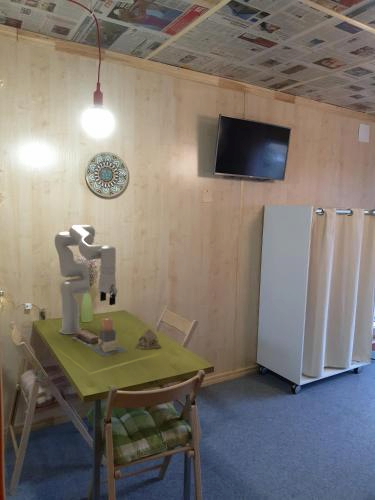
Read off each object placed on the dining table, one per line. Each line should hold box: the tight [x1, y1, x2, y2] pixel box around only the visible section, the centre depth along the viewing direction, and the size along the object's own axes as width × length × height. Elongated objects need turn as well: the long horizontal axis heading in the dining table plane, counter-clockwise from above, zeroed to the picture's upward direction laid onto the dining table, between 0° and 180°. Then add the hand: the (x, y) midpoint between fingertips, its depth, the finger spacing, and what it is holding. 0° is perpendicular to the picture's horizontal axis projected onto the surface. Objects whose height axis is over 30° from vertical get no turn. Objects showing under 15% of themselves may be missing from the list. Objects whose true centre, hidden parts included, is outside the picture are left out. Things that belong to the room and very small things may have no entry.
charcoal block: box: [99, 329, 117, 342], centre depth 198 cm, size 6×6×5 cm
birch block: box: [97, 338, 118, 352], centre depth 199 cm, size 7×7×5 cm
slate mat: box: [88, 344, 127, 357], centre depth 199 cm, size 16×14×1 cm
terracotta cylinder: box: [101, 317, 114, 332], centre depth 198 cm, size 6×6×6 cm
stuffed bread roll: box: [135, 328, 161, 351], centre depth 206 cm, size 14×11×10 cm
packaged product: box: [71, 329, 100, 347], centre depth 212 cm, size 18×5×10 cm
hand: (107, 302), depth 197 cm, fingers open, 9 cm apart
